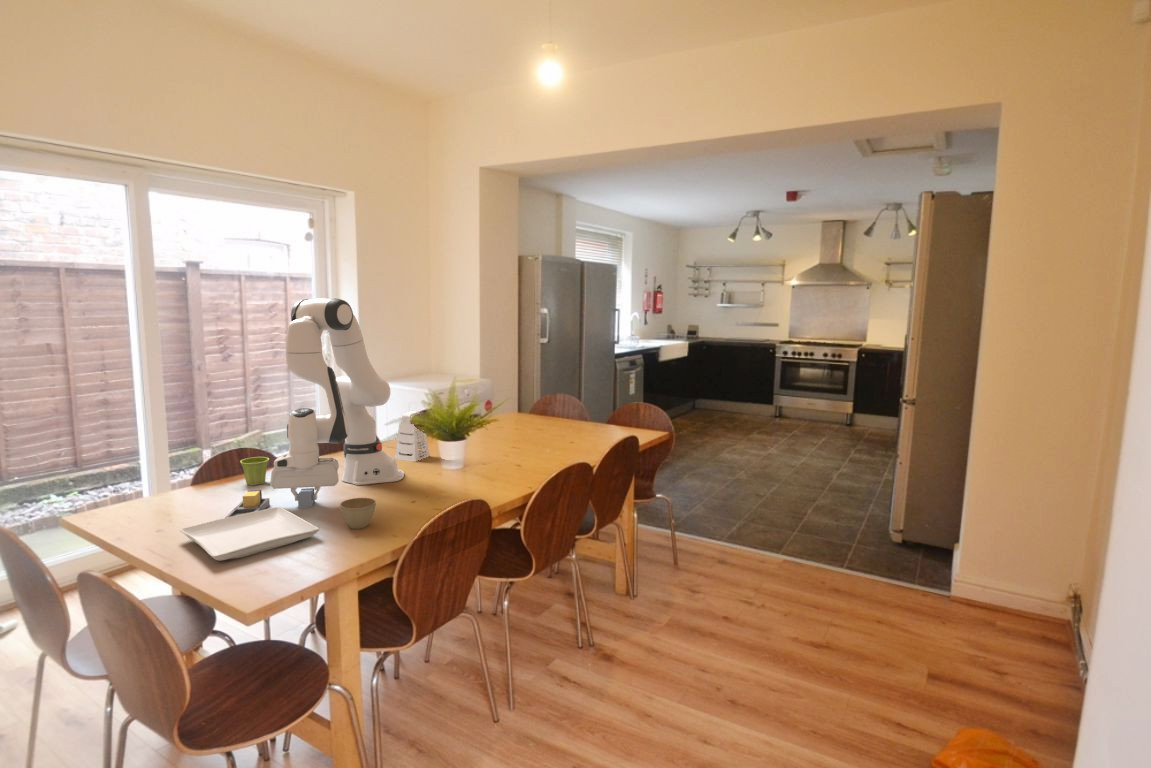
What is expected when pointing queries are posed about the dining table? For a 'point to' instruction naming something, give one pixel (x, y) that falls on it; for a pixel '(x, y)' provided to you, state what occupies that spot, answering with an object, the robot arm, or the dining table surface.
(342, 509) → the flower pot
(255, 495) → the yellow block
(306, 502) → the plug slate
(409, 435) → the grater
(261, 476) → the plant pot
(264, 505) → the grey flat frame
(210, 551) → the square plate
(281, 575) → the dining table surface
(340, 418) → the robot arm
